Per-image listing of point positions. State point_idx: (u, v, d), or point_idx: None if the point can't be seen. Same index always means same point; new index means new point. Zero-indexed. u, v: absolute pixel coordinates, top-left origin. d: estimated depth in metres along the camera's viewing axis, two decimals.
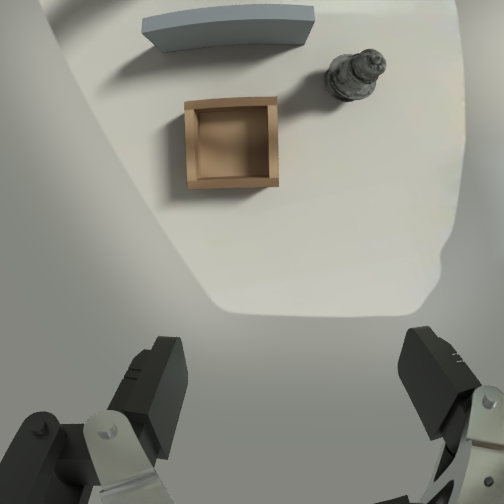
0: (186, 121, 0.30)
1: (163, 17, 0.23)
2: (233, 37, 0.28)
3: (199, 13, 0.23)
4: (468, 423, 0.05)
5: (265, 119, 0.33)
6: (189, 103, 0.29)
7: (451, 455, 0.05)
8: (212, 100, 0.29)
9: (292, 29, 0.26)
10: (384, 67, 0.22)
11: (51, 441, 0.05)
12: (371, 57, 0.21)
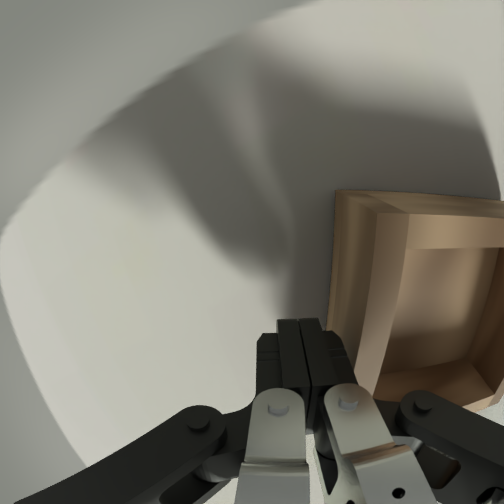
0: None
1: None
2: None
3: None
4: (335, 437, 0.05)
5: (452, 358, 0.13)
6: None
7: (331, 460, 0.06)
8: None
9: None
10: None
11: (220, 435, 0.05)
12: None
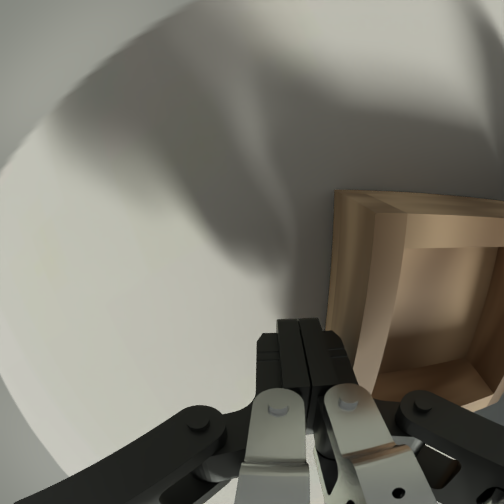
0: None
1: None
2: None
3: None
4: (334, 437, 0.05)
5: (452, 357, 0.13)
6: None
7: (331, 460, 0.06)
8: None
9: (502, 420, 0.11)
10: None
11: (220, 435, 0.05)
12: None
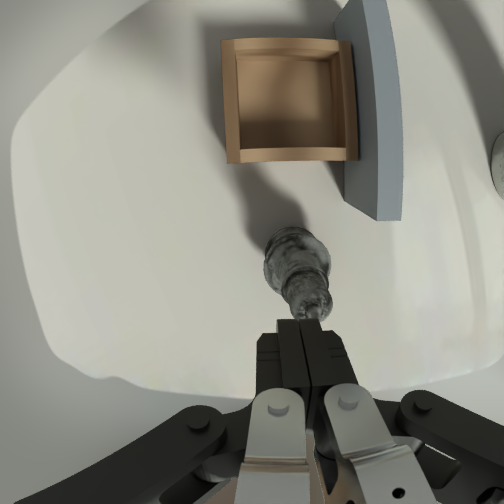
0: (321, 41, 0.18)
1: (384, 14, 0.14)
2: None
3: (388, 58, 0.16)
4: (335, 437, 0.05)
5: (320, 145, 0.24)
6: (347, 47, 0.18)
7: (331, 460, 0.06)
8: (351, 75, 0.19)
9: (362, 186, 0.22)
10: None
11: (220, 435, 0.05)
12: (317, 306, 0.18)
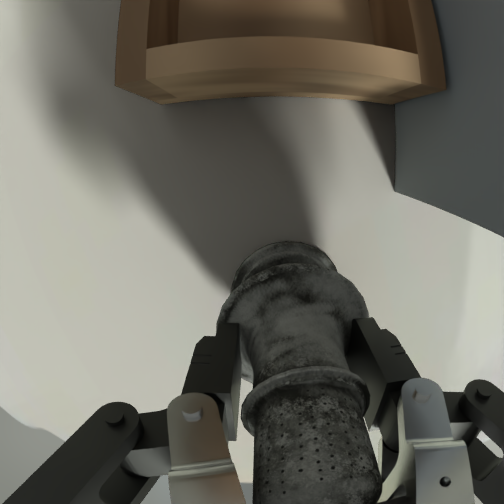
0: None
1: None
2: None
3: None
4: (403, 423, 0.05)
5: None
6: None
7: (392, 452, 0.06)
8: None
9: (460, 151, 0.07)
10: None
11: (132, 431, 0.05)
12: None
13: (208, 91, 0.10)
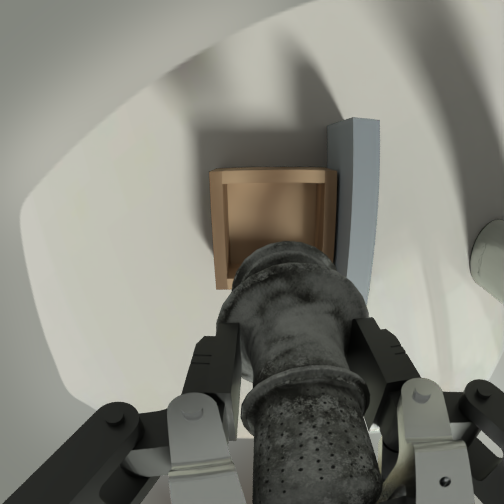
0: (308, 172, 0.22)
1: (374, 153, 0.19)
2: None
3: (368, 207, 0.20)
4: (403, 423, 0.05)
5: None
6: (333, 177, 0.23)
7: (392, 452, 0.06)
8: (334, 209, 0.23)
9: None
10: None
11: (132, 431, 0.05)
12: None
13: None
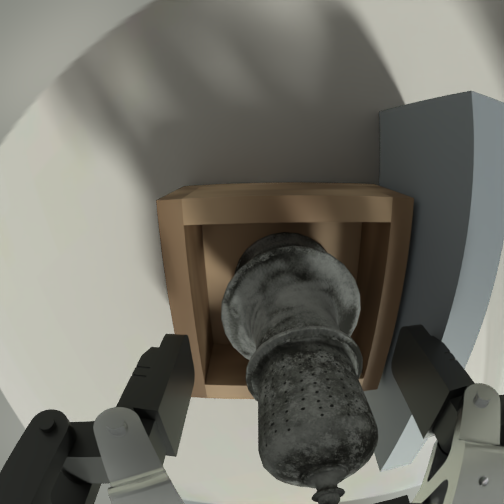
0: (361, 201, 0.11)
1: None
2: None
3: (482, 283, 0.08)
4: (460, 422, 0.05)
5: None
6: (407, 211, 0.11)
7: (444, 454, 0.06)
8: (402, 271, 0.11)
9: (376, 415, 0.14)
10: None
11: (60, 439, 0.05)
12: (338, 467, 0.05)
13: None
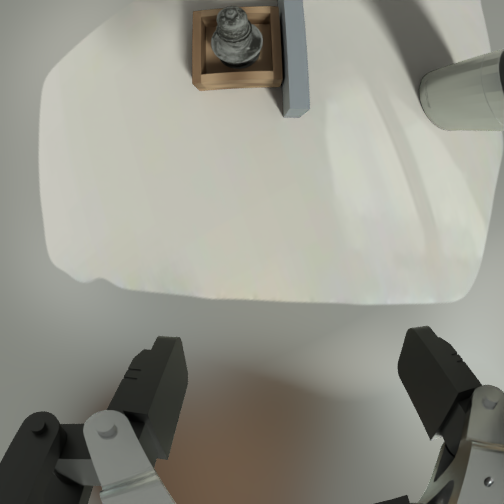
0: (258, 7, 0.26)
1: None
2: (282, 48, 0.29)
3: (297, 10, 0.23)
4: (468, 423, 0.05)
5: None
6: (276, 10, 0.26)
7: (451, 455, 0.05)
8: (278, 27, 0.26)
9: (286, 94, 0.29)
10: (225, 24, 0.21)
11: (51, 441, 0.05)
12: (233, 10, 0.20)
13: (216, 86, 0.32)
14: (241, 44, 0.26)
